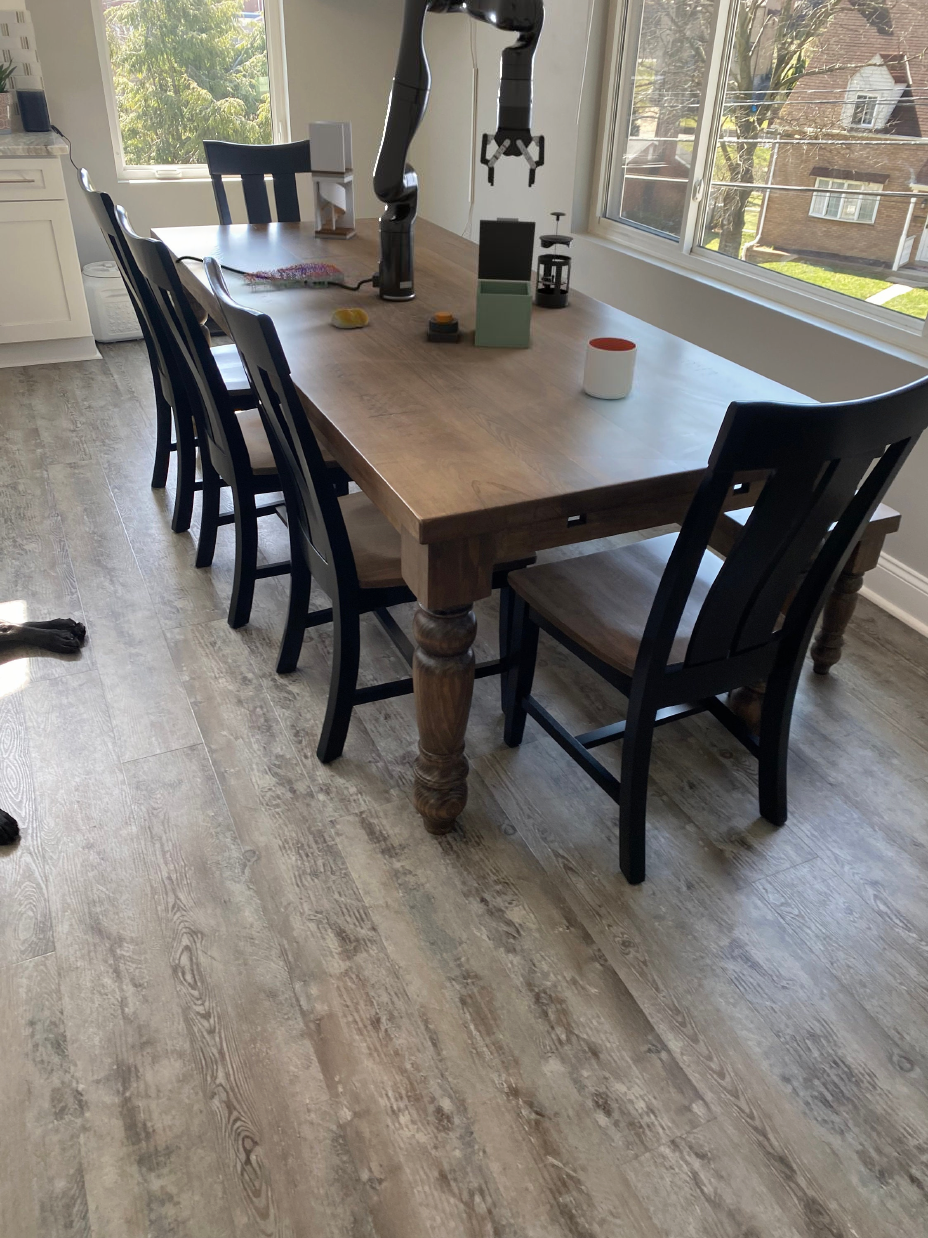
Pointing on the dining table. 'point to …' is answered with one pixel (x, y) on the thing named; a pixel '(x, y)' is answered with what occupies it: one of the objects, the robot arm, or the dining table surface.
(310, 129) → the white tower
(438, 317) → the button
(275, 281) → the multicoloured piece
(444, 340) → the block
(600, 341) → the cup
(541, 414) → the dining table surface
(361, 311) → the bread roll
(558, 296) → the french press
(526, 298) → the sage green box
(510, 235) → the lid
